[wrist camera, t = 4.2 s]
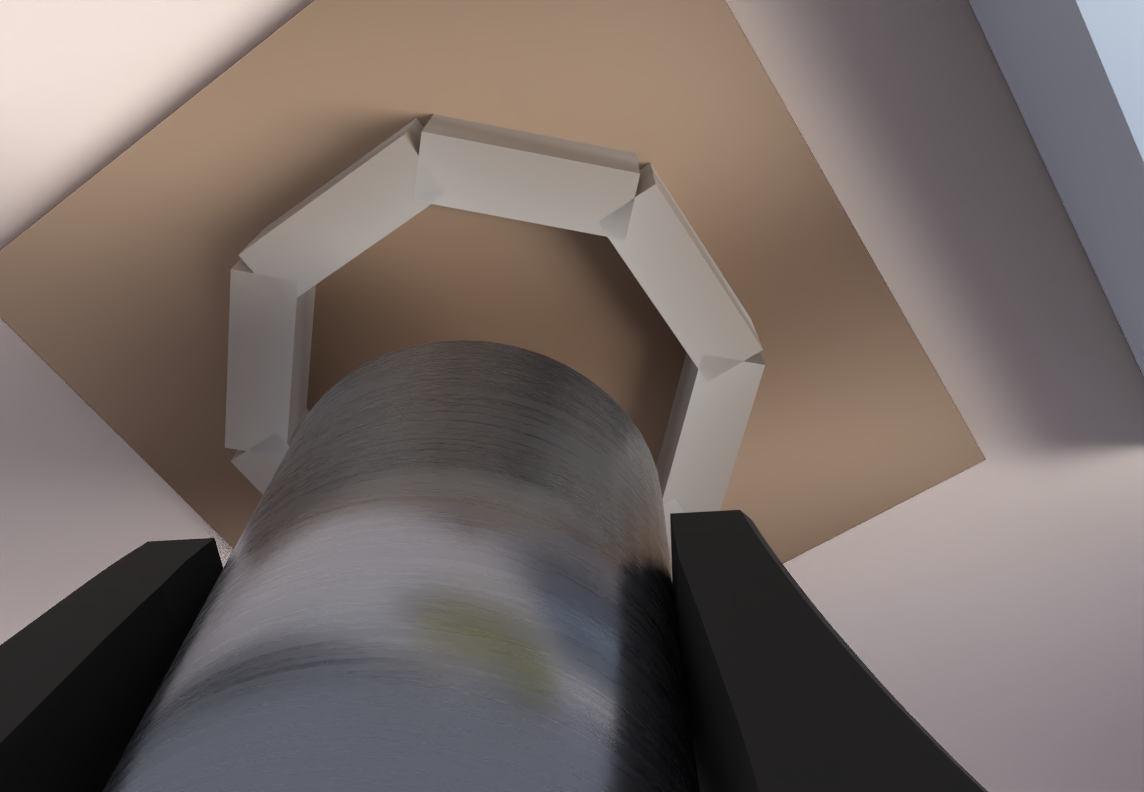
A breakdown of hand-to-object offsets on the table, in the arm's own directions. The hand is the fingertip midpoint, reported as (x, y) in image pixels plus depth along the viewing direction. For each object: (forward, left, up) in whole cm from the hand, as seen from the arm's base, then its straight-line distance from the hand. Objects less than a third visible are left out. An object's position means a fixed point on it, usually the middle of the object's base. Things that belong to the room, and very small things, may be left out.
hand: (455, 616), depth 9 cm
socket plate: (0, 0, -6) cm, 6 cm away
